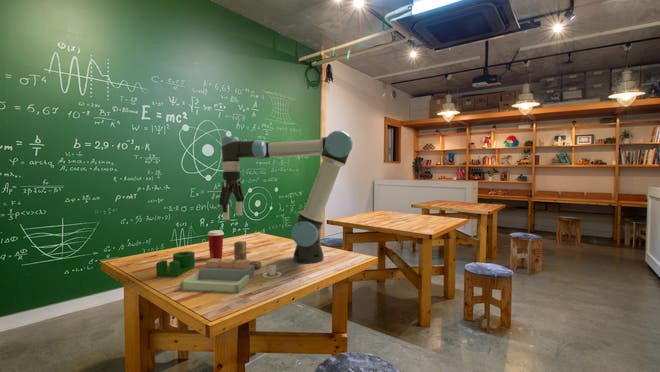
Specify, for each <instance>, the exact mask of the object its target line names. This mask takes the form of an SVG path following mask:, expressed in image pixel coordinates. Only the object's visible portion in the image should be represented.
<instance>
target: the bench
mask: <svg viewBox="0 0 660 372" xmlns="http://www.w3.org/2000/svg"><path fill="white" fill-rule="evenodd" d="M198 273H199V279H211V280H232V281H240V280H241V279H242V278H243V277H244V276H246V275H249V281H250V280H251V279H252V278H253V277H254V276H255V270H254V265H250V264H249V266H248V267H247V268H245V269H234V266H233V267H232V268H220V266H219V267H217V268H209V267H206V264H205V265H203V266H202V267H200V268H199V269H198Z"/></svg>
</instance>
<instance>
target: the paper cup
mask: <svg viewBox="0 0 660 372" xmlns="http://www.w3.org/2000/svg"><path fill="white" fill-rule="evenodd" d="M224 234H225V233H224V231H223V230H221V229H220V230H218V229H214V230H210V231H208V232H207V234H206V235H207V236H208V237H207V238H208V250H209V260H210V259H212V258H213V259H222V260H223V246H224V245H223V243H224Z"/></svg>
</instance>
